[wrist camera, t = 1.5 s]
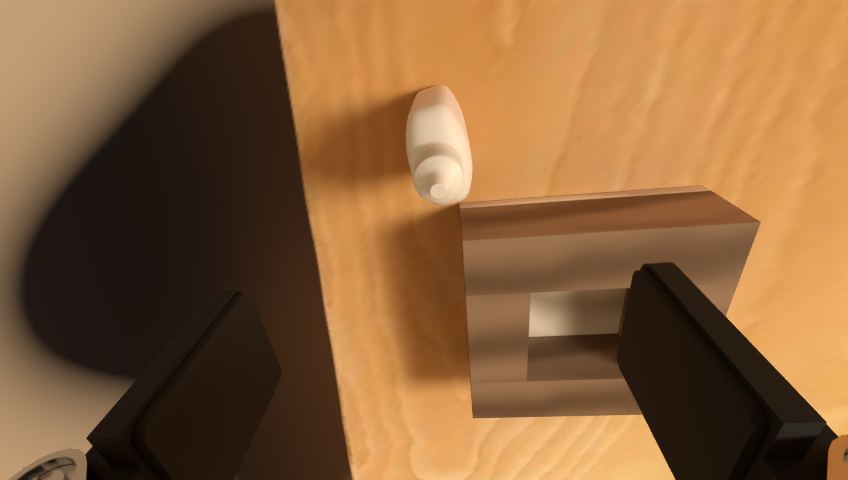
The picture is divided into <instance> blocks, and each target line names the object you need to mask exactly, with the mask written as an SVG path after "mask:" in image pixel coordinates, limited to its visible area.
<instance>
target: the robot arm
mask: <svg viewBox="0 0 848 480" xmlns="http://www.w3.org/2000/svg"><path fill="white" fill-rule="evenodd" d="M617 361H618V365H619V368H620V371H621V373H622V375H623V377H624V379H625V381H626V383H627V385H628V387H629V388H630V390H631V392H632V394H633V396H634V398H635V400H636V402H637V404H638V406H639V408H640V410H641V412H642V414H643V416H644V418H645V420H646V422H647V424H648V426H649V428H650V430H651V432H652V434H653V436H654V438H655V440H656V442H657V444H658V446H659V448H660V450H661V452H662V454H663V456H664V458H665V460H666V462H667V464H668V466H669V468H670V470H671V472H672V474H673V476H674V478H675V480H848V435H842V436H840V437H838V436H837V435H836V434H835V433H834V432H833V431H832V430H831V429H830V427H829V426H828V425H827V424H826V423H827V422H826V421H825V420H824V419H823V418H822V417H821V416H820V415H819V414H818V413H817V412H816V411H815V410H814V408H813V407H812V406H811V405H810V404H809V403H808V402H807V401H806V400H805V399H804V398H803V397H802V396H801V395H800V394H799V393H798V392H797V391H796V390H795V389H794V388H793V387H792V385H791V384H790V383H789V382H788V381H787V380H786V379H785V378H784V377H783V376H782V375H781V374H780V373H779V372H778V371H777V370H776V369H775V368H774V367H773V366H772V365H771V364H770V362H769V361H768V360H767V359H766V358H765V357H764V356H763V355H762V354H761V353H760V352H759V351H758V350H757V349H756V348H755V347H754V346H753V345H752V344H751V343H750V342H749V341H748V340H747V338H746V337H745V336H744V335H743V334H742V333H741V332H740V331H739V330H738V329H737V328H736V327H735V326H734V325H733V324H732V323H731V322H730V321H729V320H728V319H727V318H726V317H725V315H724V314H723V313H722V312H721V311H720V310H719V309H718V308H717V307H716V306H715V305H714V304H713V303H712V302H711V301H710V300H709V299H708V298H707V297H706V296H705V295H704V294H703V292H702V291H701V290H700V289H699V288H698V287H697V286H696V285H695V284H694V283H693V282H692V281H691V280H690V279H689V278H688V277H687V276H686V275H685V274H684V273H683V272H682V271H681V270H680V268H679V267H678V266H677V265H675V264H674V263H672V262H663V263H646V264H643V265H642V267H641V268H640V270H636V271H635V272H634V273H633V276H632V281H631V286H630V291H629V296H628V301H627V306H626V311H625V316H624V321H623V326H622V331H621V336H620V342H619V347H618V352H617ZM280 376H281V368H280V365H279V363H278V360H277V358H276V356H275V353H274V351H273V348H272V346H271V343H270V341H269V339H268V336H267V334H266V331H265V329H264V326H263V324H262V322H261V319H260V317H259V314H258V312H257V310H256V307H255V305H254V302H253V300H252V298H251V296H250V295H249V294H247V293H245V292H244V291H243V290H242V289H240V288H229V289H217V290H215V291H214V292H212V293H211V295H210V296H209V297H208V298H207V299H206V300H205V302H204V303H203V304H202V305H201V306H200V307H199V308H198V310H197V311H196V312H195V313H194V314H193V315H192V317H191V318H190V319H189V320H188V321H187V322H186V323H185V325H184V326H183V327H182V328H181V329H180V330H179V332H178V333H177V334H176V335H175V336H174V337H173V338H172V340H171V341H170V342H169V343H168V344H167V346H166V347H165V348H164V349H163V350H162V351H161V352H160V354H159V355H158V356H157V357H156V358H155V359H154V360H153V362H152V363H151V364H150V365H149V366H148V367H147V369H146V370H145V371H144V372H143V373H142V374H141V375H140V377H139V378H138V379H137V380H136V381H135V382H134V384H133V385H132V386H131V387H130V388H129V389H128V391H127V392H126V393H125V394H124V395H123V396H122V397H121V399H120V400H119V401H118V402H117V403H116V404H115V405H114V407H113V408H112V409H111V410H110V411H109V412H108V414H107V415H106V416H105V417H104V418H103V420H102V421H101V422H100V423H99V424H98V425H97V426H96V427H95V429H94V430H93V431H92V432H91V433H90V434H89V436H88V437H87V440H88V441H89V442H90V443H91V444H92V445H93V446H92V448H91V449H90V450H89V451H88V452H87V454H84V453H83V452H82V451H80V450H78V449H65V450H61V451H56V452H54V453H51V454H49V455H47V456H44V457H42V458H40V459H38V460H37V461H35V462H33V463H32V464H30V465H28V466H26V467H25V468H23V469H22V470H21V471H19V472H18V473H17V474H16V475H14V476H13V477H12V478H10V479H9V480H234V478H235V476H236V474H237V471H238V469H239V467H240V465H241V463H242V461H243V459H244V456H245V454H246V452H247V450H248V448H249V445H250V443H251V441H252V439H253V437H254V435H255V433H256V430H257V428H258V426H259V424H260V422H261V420H262V417H263V415H264V413H265V411H266V409H267V407H268V405H269V402H270V400H271V398H272V396H273V394H274V392H275V389H276V387H277V385H278V383H279V380H280Z"/></svg>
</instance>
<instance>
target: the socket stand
mask: <svg viewBox="0 0 848 480" xmlns="http://www.w3.org/2000/svg"><path fill="white" fill-rule="evenodd" d="M459 204H460V221H461V237H462V254H463V271H464V287H465V304H466V321H467V337H468V354H469V370H470V384H471V398H472V412H473V418H503V417H551V416H598V415H643V414H642V412H641V410H640V408H639V406H638V404H637V402H636V400H635V398H634V396H633V394H632V392H631V390H630V388H629V387H628V385H627V383H626V381H625V379H624V377H623V375H622V373H621V371H620V368H619V365H618V361H617V352H618V347H619V342H620V336H621V331H622V326H623V321H624V316H625V311H626V306H627V301H628V296H629V291H630V286H631V281H632V276H633V273H634V272H635V271H636V270H640V268H641V267H642V265H643V264H646V263H663V262H672V263H674V264H675V265H677V266H678V267H679V268H680V270H681V271H682V272H683V273H684V274H685V275H686V276H687V277H688V278H689V279H690V280H691V281H692V282H693V283H694V284H695V285H696V286H697V287H698V288H699V289H700V290H701V291H702V292H703V294H704V295H705V296H706V297H707V298H708V299H709V300H710V301H711V302H712V303H713V304H714V305H715V306H716V307H717V308H718V309H719V310H720V311H721V312H722V313H723V314H724V315H725V316H726V314H727V311H728V308H729V306H730V303H731V300H732V298H733V295H734V292H735V290H736V287H737V284H738V282H739V279H740V276H741V274H742V271H743V268H744V265H745V263H746V260H747V257H748V255H749V252H750V249H751V247H752V244H753V241H754V239H755V236H756V233H757V231H758V228H759V225H760V223H761V222H760V221H758V220H757V219H755V218H753V217H752V216H750V215H749V214H747V213H745V212H744V211H742V210H741V209H739V208H737V207H736V206H734V205H733V204H731V203H730V202H728V201H726V200H725V199H723V198H722V197H720V196H718V195H717V194H715V193H714V192H712V191H710V190H709V189H707V188H706V187H704V186H688V187H674V188H661V189H647V190H633V191H619V192H605V193H592V194H578V195H564V196H550V197H536V198H523V199H509V200H495V201H481V202H468V203H459Z"/></svg>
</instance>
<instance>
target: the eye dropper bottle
mask: <svg viewBox="0 0 848 480" xmlns="http://www.w3.org/2000/svg"><path fill="white" fill-rule="evenodd" d="M406 151H407V158H408V162H409V166H410V169H411V172H412V174H413V182H414V186H415V189H416V191H418V193H419V195H421V197H423V198H425V200H427V201H430V202H432V203H434V204H436V205H446V204H451V203H455V202H458V201H461V200H463V199H465V198H466V196H467V195H468V192H469V189H470V185H471V179H472V158H471V151H470V146H469V141H468V136H467V131H466V126H465V121H464V117H463V114H462V111H461V109H460V106H459V104H458V102H457V100H456V98H455V97H454V95H453V94H452V92H451V91H450V90H449V88H448V87H446V86H445V85H438V86H434V87H430V88H427V89H424V90H421V91H419V92H418V93H417V95H416V97H415V99H414V102H413V104H412V107H411V109H410V112H409V116H408V120H407V127H406Z"/></svg>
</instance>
